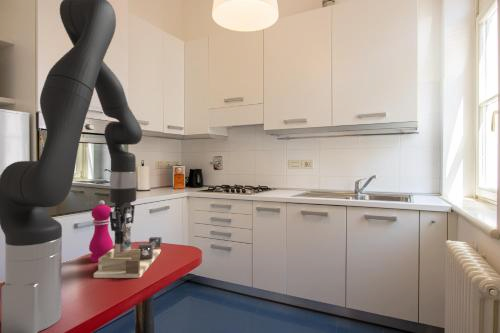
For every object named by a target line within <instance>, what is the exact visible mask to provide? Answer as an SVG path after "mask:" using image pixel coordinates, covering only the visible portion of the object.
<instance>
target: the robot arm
mask: <svg viewBox="0 0 500 333" xmlns="http://www.w3.org/2000/svg"><path fill="white" fill-rule="evenodd" d="M59 16H60V20H61V22H62V25H63V27H64V30H65V32H66V34H67V36H68V38H69V40H70V42H71V43H72V45H73V47H71V49H70V50H68V51H67V52H66V53H65V54H64V55H63V56H62V57H60V58H59V60H57V61H56V62H55V64H54V65H53V66H52V67H51V68H50V70H49V71H48V74H47V75H46V78H45V81H44V84H43V86H42V89H41V94H40V98H39V106H40V110H41V114H42V118H43V121H44V125H45V131H46V132H45V133H46V136H45V142H44V146H43V148H42V150H41V151H42V152H41V154H40V156H39V158H38V160H20V161H15V162H13V163H11V164H8V165H7V166H6V167H5V168H4V170H3V171H2V173H1V175H0V229H1V230H2V232H3V234H4V239H5V243H4V244H5V246H4V247H5V248H4V249H5V252H4V253H5V254H4V256H5V257H4V260H5V261H4V264H5V265H4V266H5V267H4V268H5V270H4V284H3V285H2V286H1V287H0V288H1V291H0V292H1V298H0V299H1V304H0V307H1V309H0V312H1V313H0V314H1V315H0V316H1V317H0V319H1V321H0V322H1V325H0V327H1V329H0V332H1V333H39V332H40V331H43V330H46V329H48V328H50V327H52V326H54V325H55V324H57V323H58V322H59V321H60V319H61V318H62V269H63V268H62V267H63V266H62V265H63V264H62V262H63V261H62V260H63V259H62V257H63V256H62V249H63V248H62V243H63V242H62V241H63V237H62V236H63V227H62V223H61V222H59V221H58V220H56V219H55V218H53V217H52V216H51V215H50V214H49V213H48V211H47V208H54V207H57V206H59V205H61V204H62V203H63V202H64V201H65V200H66V199H67V197H68V196H69V194H70V191H71V189H72V186H73V180H74V176H75V172H76V171H75V170H76V164H77V158H78V150H79V146H80V142H81V139H82V138H81V137H82V134H83V129H84V125H85V121H86V118H87V114H88V112H89V109H90V106H91V103H92V98H93V94H94V91H95V92H96V95H97V98H98V101H99V104H100V106H101V110H102V112H103V115H105V116H106V117H108V118H112V119H115V120H117V121H110V122H108V124H106V126H105V128H104V140H105V143H106V145H107V149H108V153H109V156H110V175H109V202H110V203H112V204H114V209H113V211H111V212H110V214H109V215H110V217H109V219H110V220H109V222H110V223H109V224H110V230H111V231H112V232H114V244H115V243H116V244H122V243H123V234H124V231H123V230H124V224H125V223H126V220H127V214H128V213H130V215H131V224H134V218H135V208H136V206H135V205H134V204H132V203H134V202H136V200H137V173H136V166H137V164H136V163H137V162H136V161H137V160H136V159H137V158H136V155H135V154H134V153H133V152H130V151H129V152H128V151H125V150H124V148H123V145H127V146H128V145H137V144H140V142H141V140H142V138H143V130H142V127H141V124H140V123H139V121H138V120H137V118H136V116H135V114H133V111H132V109H131V108H130V107H129V103H128V101H127V97H126V94H125V90H124V88H123V85H122V83H121V81H120V80H119V78H118V77H117V75H116V74H115V73H114V71H112V70H111V68H110V67H109V66H108V65H107V64H106V62H105V61H104V58H105V56H106V54H107V53H108V49H109V47H110V45H111V42H112V40H113V38H114V35H115V32H116V27H117V17H116V13H115V10H114V8H113V5H112V4H111V3H110V2H109V1H108V0H62V1H61V3H60V4H59ZM123 218H124V219H123ZM120 219H123V220H122V221H121V220H120ZM117 225H118V227H117Z"/></svg>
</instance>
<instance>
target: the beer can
mask: <svg viewBox="0 0 500 333" xmlns="http://www.w3.org/2000/svg"><path fill="white" fill-rule="evenodd" d="M123 219H124V218H123ZM123 219H120V220H121V221H122V220H123ZM117 227H118V225H117ZM123 231H124V234H123V243H122V244H116V243H115V242H114V249H115V250H114V252H116V253H119V254H122V253H127V252H129V251H130V250H131V249H132V243H131V242H132V223H131V215H130V213H128V214H127V220H126V223H125V224H124V230H123Z"/></svg>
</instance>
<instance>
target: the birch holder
mask: <svg viewBox="0 0 500 333" xmlns="http://www.w3.org/2000/svg"><path fill="white" fill-rule="evenodd" d="M144 249H149V253H148V255H147V256H145V257H143V256H142V255H141V252H142V251H143V250H144ZM114 250H115V248H112V249H111V250H110V251H109V252H107V253H106V254H104V255H103V256H102V257H100V258H99V259H98V262H97V264H98V270H96V271H95V272H94V273H93V278H94V279H103V278H104V279H109V278H110V279H112V278H113V279H114V278H115V279H120V278H121V279H122V278H123V279H127V278H129V279H131V278H132V279H134V278H136V279H137V278H138V279H139V278H141V277H142V276H143V275H144V273H145V272H146V271H147V270H148V269H149V268H150V266H151V265H152V263H153V262H154V261H155V260H156V259H157V258H158V256H159V255H160V254H161V253H162V249H161V248H153V244H149V243H139V244H138V248H131V250H130V251H129V252H127V253H122V254H119V253H116V252H114ZM160 252H161V253H160Z"/></svg>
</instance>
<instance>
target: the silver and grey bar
mask: <svg viewBox="0 0 500 333" xmlns="http://www.w3.org/2000/svg"><path fill="white" fill-rule="evenodd" d="M148 244H153V249H155V248H161V247H162V236H152V237H151V236H150V237H149V238H148ZM148 253H149V249H144V250H143V251H142V252H141V255H142V256H143V257H145V256H147V255H148Z"/></svg>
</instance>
